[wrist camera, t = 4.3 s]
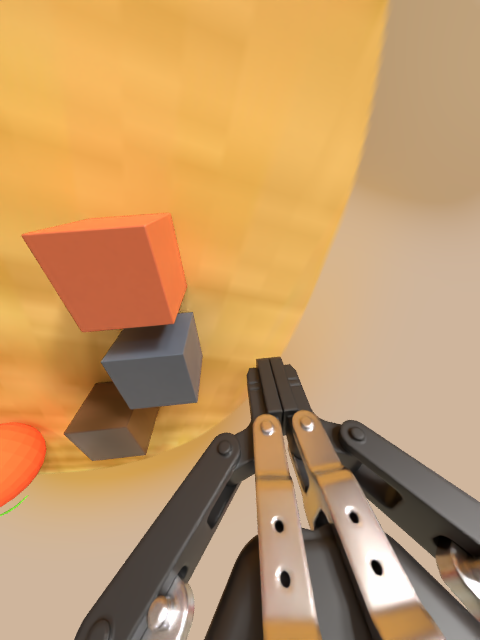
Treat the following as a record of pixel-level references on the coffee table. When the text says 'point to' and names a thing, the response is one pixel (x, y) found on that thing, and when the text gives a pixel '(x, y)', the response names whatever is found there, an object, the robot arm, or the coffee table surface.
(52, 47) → the coffee table surface
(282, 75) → the coffee table surface
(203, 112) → the coffee table surface
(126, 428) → the walnut block
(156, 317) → the terracotta block
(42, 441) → the clementine
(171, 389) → the slate block
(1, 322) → the coffee table surface
